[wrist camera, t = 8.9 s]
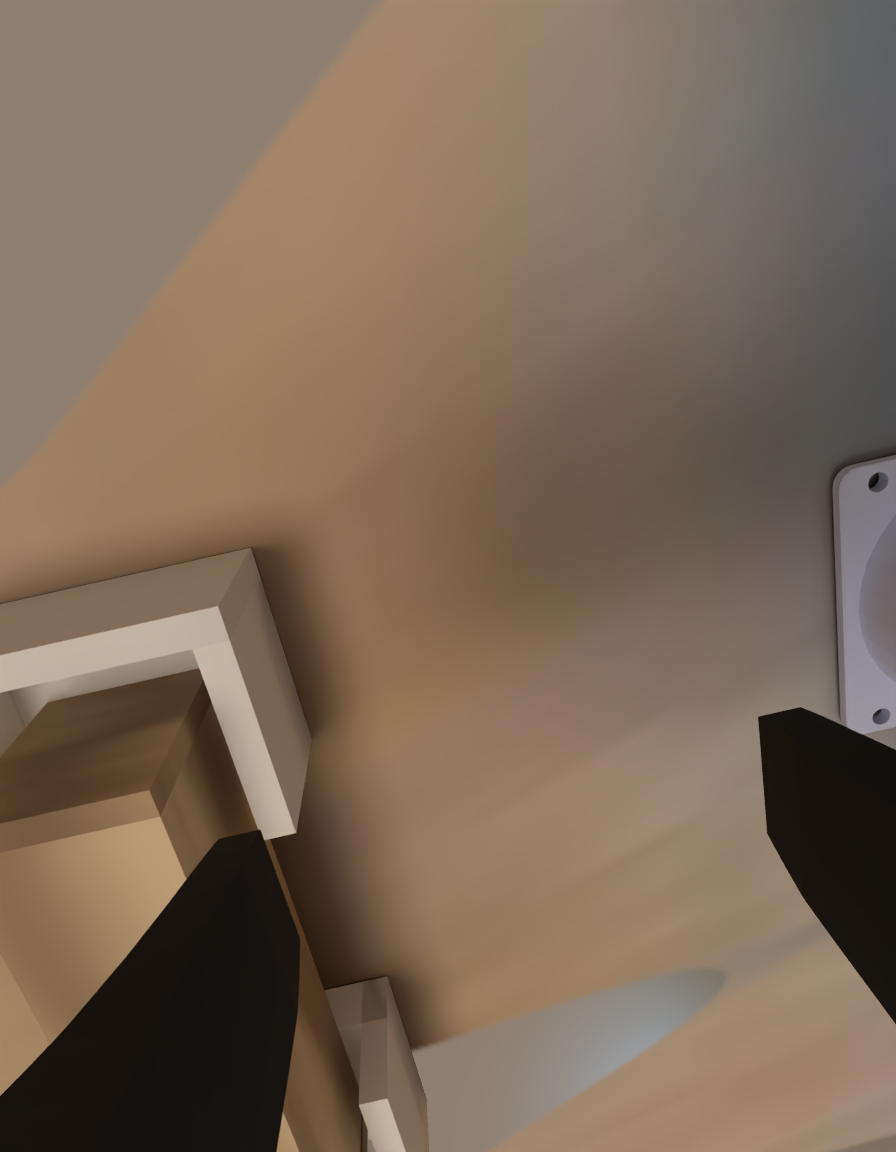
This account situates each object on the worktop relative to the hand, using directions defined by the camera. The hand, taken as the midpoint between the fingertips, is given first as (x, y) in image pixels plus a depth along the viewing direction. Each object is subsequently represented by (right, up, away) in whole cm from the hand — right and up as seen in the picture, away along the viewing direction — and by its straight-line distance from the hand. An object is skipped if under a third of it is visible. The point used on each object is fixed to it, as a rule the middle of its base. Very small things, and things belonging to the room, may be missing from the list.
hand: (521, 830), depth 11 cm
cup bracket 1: (-9, +1, +10) cm, 13 cm away
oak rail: (-7, -6, +11) cm, 14 cm away
